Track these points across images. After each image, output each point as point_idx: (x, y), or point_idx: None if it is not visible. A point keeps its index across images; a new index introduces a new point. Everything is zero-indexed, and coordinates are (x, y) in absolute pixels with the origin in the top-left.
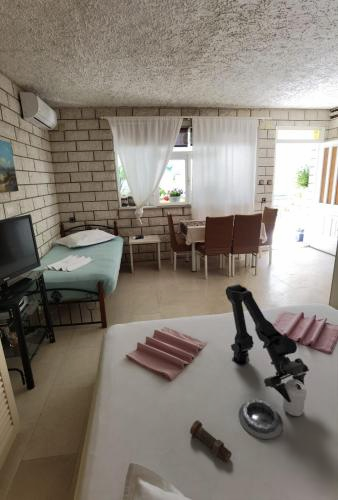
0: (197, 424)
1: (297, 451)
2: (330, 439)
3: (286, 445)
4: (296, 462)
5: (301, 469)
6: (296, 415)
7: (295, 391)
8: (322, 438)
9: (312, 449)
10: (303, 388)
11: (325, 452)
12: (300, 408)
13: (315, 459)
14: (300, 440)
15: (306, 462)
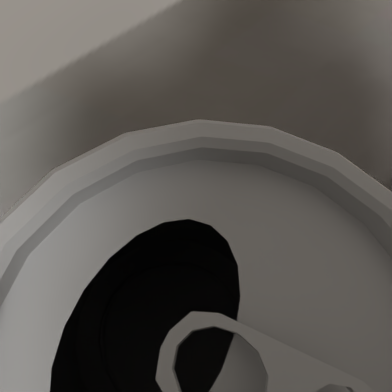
0: None
1: (347, 86)
2: (104, 60)
3: (387, 131)
4: (385, 52)
5: (381, 24)
6: (208, 246)
7: (385, 191)
8: (146, 81)
9: (258, 62)
10: (87, 188)
11: (202, 27)
12: (186, 221)
13: (282, 26)
14: (287, 122)
15: (337, 34)
